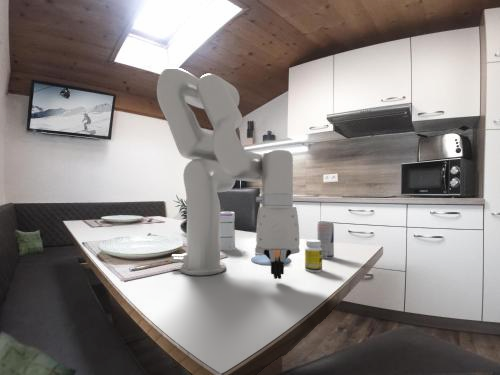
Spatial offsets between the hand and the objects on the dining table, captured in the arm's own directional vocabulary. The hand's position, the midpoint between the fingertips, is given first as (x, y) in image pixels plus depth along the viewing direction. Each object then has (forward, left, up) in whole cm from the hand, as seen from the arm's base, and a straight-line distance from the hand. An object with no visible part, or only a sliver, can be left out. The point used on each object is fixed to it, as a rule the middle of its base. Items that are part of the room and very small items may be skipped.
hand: (277, 276), depth 63 cm
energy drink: (+19, +26, -2) cm, 32 cm away
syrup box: (-16, +39, -2) cm, 42 cm away
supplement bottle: (+11, +11, -2) cm, 16 cm away
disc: (0, +22, -2) cm, 22 cm away
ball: (+2, +20, +1) cm, 20 cm away
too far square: (0, +34, -2) cm, 34 cm away
